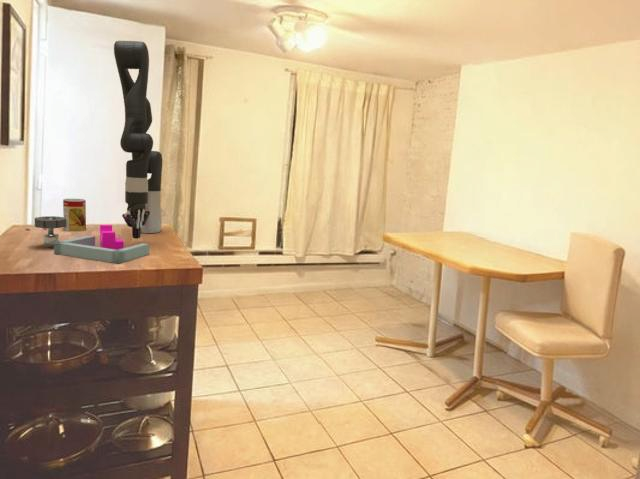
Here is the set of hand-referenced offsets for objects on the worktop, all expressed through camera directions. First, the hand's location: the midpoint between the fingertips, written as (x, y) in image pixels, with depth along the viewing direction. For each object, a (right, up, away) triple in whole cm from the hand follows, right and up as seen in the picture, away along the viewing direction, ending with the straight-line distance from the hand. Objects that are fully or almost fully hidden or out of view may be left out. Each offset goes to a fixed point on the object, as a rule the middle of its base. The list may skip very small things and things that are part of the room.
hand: (136, 238), depth 168 cm
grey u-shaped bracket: (-5, -5, -16) cm, 17 cm away
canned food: (-32, +3, +19) cm, 38 cm away
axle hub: (-24, -3, -11) cm, 27 cm away
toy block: (-5, -4, -9) cm, 11 cm away
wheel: (-24, +4, -13) cm, 27 cm away
